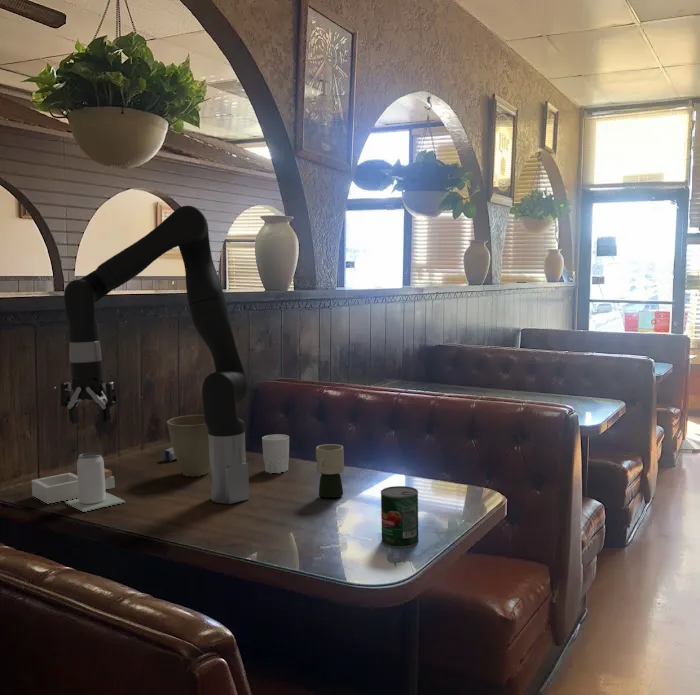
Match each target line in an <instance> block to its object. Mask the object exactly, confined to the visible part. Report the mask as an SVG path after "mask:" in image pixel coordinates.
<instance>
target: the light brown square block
mask: <svg viewBox="0 0 700 695" xmlns="http://www.w3.org/2000/svg"><path fill="white" fill-rule="evenodd" d="M104 474H105V478H106V477H111V476H113V475H112V474H113V472H112V470H110V469H108V468H105V467H104Z"/></svg>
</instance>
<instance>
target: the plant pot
mask: <svg viewBox="0 0 700 695" xmlns="http://www.w3.org/2000/svg"><path fill="white" fill-rule="evenodd" d="M166 423H167V424H166V425H167V431H168V434H169V438H170V443H171V447H173V450H174V453H175V456H176V462H177V464H178V466H179V468H180V470H181V473H182V475H183V476H184V475H185V477H188V476H191V477H190V478H193V477H195V476H197V477H202V476H201V475H203V476H206V475H208V474H210V462H209V438H208V427H207V425H206V423H205V419H204V414H192V415H183V416H182V415H181V416H177V417H172V418H170V419H168V420H167V421H166ZM207 473H208V474H207ZM205 474H206V475H205Z"/></svg>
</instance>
